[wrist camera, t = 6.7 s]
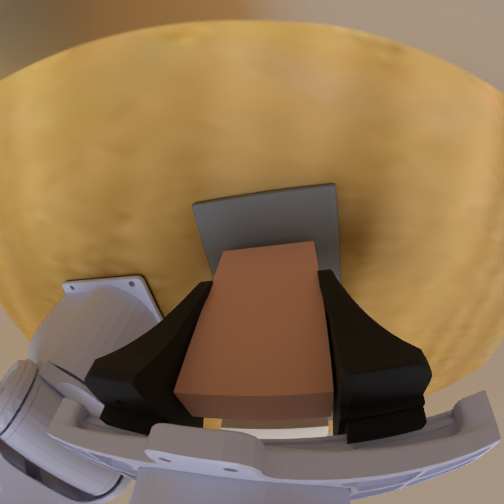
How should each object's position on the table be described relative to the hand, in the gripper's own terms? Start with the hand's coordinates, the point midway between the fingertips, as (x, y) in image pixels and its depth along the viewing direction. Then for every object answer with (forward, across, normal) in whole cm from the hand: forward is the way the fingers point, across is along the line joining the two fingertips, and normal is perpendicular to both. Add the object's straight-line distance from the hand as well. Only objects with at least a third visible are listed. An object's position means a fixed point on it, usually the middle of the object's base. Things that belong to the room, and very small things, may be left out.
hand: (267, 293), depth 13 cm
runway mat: (+4, 0, +10) cm, 11 cm away
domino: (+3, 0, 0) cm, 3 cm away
